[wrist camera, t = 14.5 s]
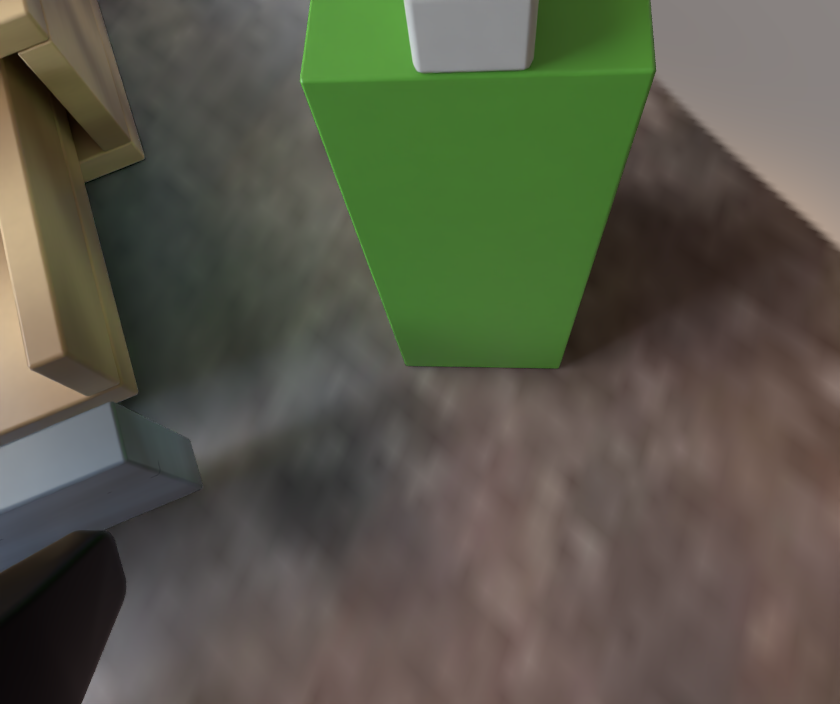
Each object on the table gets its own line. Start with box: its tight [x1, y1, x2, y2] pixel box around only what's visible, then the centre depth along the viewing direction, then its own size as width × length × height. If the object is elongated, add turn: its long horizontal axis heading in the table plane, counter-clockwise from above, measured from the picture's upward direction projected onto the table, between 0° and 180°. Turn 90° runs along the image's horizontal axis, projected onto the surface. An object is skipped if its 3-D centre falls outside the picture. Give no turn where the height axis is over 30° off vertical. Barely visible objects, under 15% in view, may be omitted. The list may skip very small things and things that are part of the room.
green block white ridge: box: [300, 0, 656, 369], centre depth 11 cm, size 5×4×10 cm
